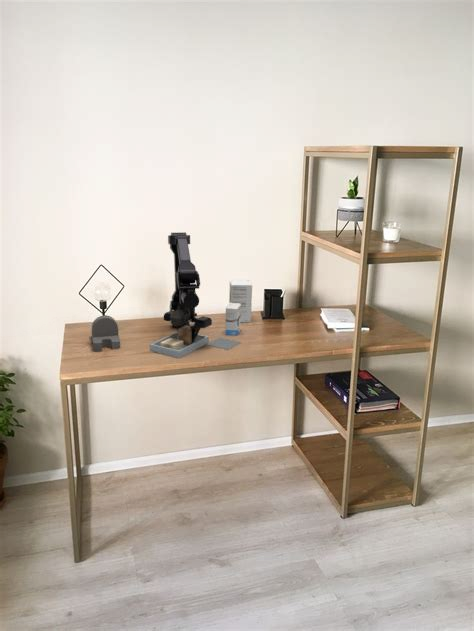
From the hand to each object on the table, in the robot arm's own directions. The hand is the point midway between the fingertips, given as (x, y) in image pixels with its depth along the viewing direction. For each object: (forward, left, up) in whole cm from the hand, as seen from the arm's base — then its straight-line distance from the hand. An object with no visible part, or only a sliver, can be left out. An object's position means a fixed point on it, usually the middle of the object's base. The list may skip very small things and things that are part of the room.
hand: (187, 340), depth 215 cm
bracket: (-27, -16, -2) cm, 31 cm away
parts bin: (0, -5, -2) cm, 5 cm away
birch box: (0, -10, -1) cm, 10 cm away
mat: (+12, +7, -2) cm, 14 cm away
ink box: (+8, +21, -2) cm, 23 cm away
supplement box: (+1, +39, -2) cm, 39 cm away
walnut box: (0, 0, -1) cm, 1 cm away
